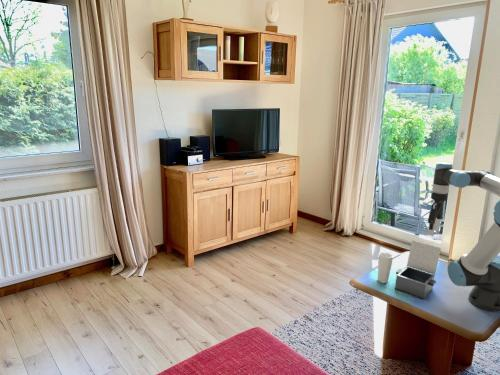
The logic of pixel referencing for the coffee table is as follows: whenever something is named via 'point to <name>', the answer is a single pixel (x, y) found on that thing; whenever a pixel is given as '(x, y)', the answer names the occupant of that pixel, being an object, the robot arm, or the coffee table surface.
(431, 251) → the lid
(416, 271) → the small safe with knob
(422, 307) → the coffee table surface
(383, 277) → the white hollow cylinder
